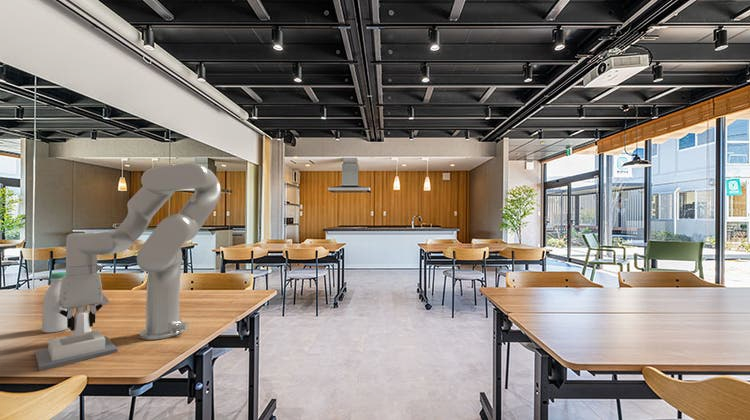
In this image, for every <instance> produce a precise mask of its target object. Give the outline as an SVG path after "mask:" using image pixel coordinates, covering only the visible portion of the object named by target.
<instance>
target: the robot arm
mask: <svg viewBox="0 0 750 420" xmlns="http://www.w3.org/2000/svg"><path fill="white" fill-rule="evenodd" d="M140 182H141V185H142V187H141V188H139V190H138V191H137V192H136V193H135V194H134V195H133V196H132V197H131V198H130V199H129V200H128V202H127V204H126V206H127V215H126V217H125V219H124V220H123V222H121V224H119V226H118V227H117V228H116V229H115V230H112V231H102V232H95V233H94V232H73V233H70V234H68V235H66V239H65V242H66V243H65V272H66V276H64V277H62V281H61V286H60V296H59V300H58V302H57V303H56V304H55V306H54V307H53V308H52V309H51V310H52V311H53V312H56V313H59V314H62V315H63V316H65V317H67V328H69V330H70V331H71V332H72V331H73V330H74V309H76V307H82V306H87V307H88V306H89V320H90V327H91V328H92V327H93V326H94V324H96V314H97V313H98V312H99V310H100V309H102V308H103V307H104V306H106V304H109V302H110V300H109V299H108V298H107V297H106V296H105V295H104V293H103V284H102V277H101V274H100V273H99V271H100V270H103V268H104V266H103V265H99V264H98V256H108V255H114V254H119V253H123V252H125V251H127V250H129V248H131V247H132V246H133V245H134V244H135V243H136V242H137V240H138V239H140V238H141V236H142V235H143V234H144V233H145V231H146V229H147V228H148V227H149V224H150V223H151V221H152V218H153V217H154V216H155V215H156V213H157V212H158V211H159V210H160V209H161V208H162V207H163V206H164V205H165V204H166V202H167V201H169V199H170V198H171V197H172V196H173V195H174V194H175V193H176V191H182V190H190V189H192V190H194V193H193V194H192V195H191V196H190V198H188V200H187V201H186V203H185V204H184V206H183V207H182V208H181V209H180V210H179V212H178V213H177V214H171V215H168V216H166V217H164V219H162V220H161V221H160V222H159V223H158V224H157V226H156V227H155V228H154V229H153V231H151V234H150V235H149V236H148V237H147V239H146V240H145V241H144V243H143V244H142V245H141V247H140V248H139V250H138V252H137V255H136V262H137V263H136V264H137V266H138V267H139V269H141V270H142V271H144V272H146V273H147V278H146V279H147V283H146V302H145V303H146V305H145V309H146V310H145V329H144V330H142V331H141V332H139V339H141V340H147V341H148V340H149V341H151V340H152V341H153V340H162V339H167V338H171V337H174V336H178V335H180V334H181V333H183V332H184V331H185V330H188V328H189V325H190V322H189V321H187V322H186V321H183V317H180V296H181V295H180V294H181V293H180V291H181V290H180V287H181V270H182V263H183V251H182V247H183V245H184V244H185V243H187V242H189V241H191V240H193V239H194V238H195V237H196V236H197V234H198V233H199V231H200V229H201V228H202V227H203V225H204V224H205V222H206V221H207V220H208V218H209V216H210V215H211V214H212V212H213V211H214V209H215V208H216V206H217V204H218V203H219V201H220V198H221V196H222V186H221V184H220V181H219V179H218V177H217V176H216V174H215V173H214V172H213V171H212V170H210V169H209V168H208V167H206V166H204V165H203V164H201V163H196V162H186V163H180V164H179V163H178V164H171V165H170V164H169V165H161V166H155V167H150V168H149V169H147V170H146V171H144V172H143V174H142V176H141V179H140ZM60 306H61V307H62V308H64V309H67V311H65V310H63V309H60Z"/></svg>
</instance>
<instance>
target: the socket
mask: <svg viewBox="0 0 750 420" xmlns="http://www.w3.org/2000/svg"><path fill="white" fill-rule="evenodd" d="M118 349H119V348H118V347H117V346H116V345H115V344H114V343H113V342H112V340H110V338H109V337H108V336H107V335H103V334H102V333H101V332H100V331H99V329H97V330H91V332H86V333H81V334H76V335H66V336H61V337H57V338H56V337H55V338H51V339H48V347H45V348H41V349H36V350H35V352H34V355H35V359H36V363H37V368H38V371H39V372H41V371H45V370H49V369H53V368H56V367H61V366H65V365H69V364H73V363H77V362H81V361H86V360H91V359H94V358H95V359H96V358H98V357H102V356H107V355H111V354H116V353H118V352H119V351H118Z"/></svg>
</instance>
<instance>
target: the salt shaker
mask: <svg viewBox="0 0 750 420" xmlns="http://www.w3.org/2000/svg"><path fill="white" fill-rule="evenodd" d="M89 313H90V310H88V306H82V307H76V308H75V313H73V317H74V330H73V331H71V335H76V334H81V333H86V332H91V331H92V327H90V320H89ZM71 335H70V336H71Z"/></svg>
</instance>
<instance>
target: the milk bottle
mask: <svg viewBox="0 0 750 420" xmlns="http://www.w3.org/2000/svg"><path fill="white" fill-rule="evenodd" d="M49 276H50V277H49V278H50V279H49V280H50V284H49V287H48V288H47V290H46V291H45V293H44V295H43V303H42V319H41V320H42V322H41V323H42V324H41V331H42V332H43V333H57V332H58V333H59V332H64V331H67V330H70V328H67V317H65V316H63V315H62V314H59V313H56V312H53V311H52V310H51V309H52V308H53V307H54V306H55V304H56V303H57V302H58V300H59V296H60V286H61V281H62V277H64V276H66V271H63V272H60V271H59V272H54V273H52V272H51V274H50V275H49ZM60 309H63V310H65V311H67V309H64V308H62V307H61V306H60Z"/></svg>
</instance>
